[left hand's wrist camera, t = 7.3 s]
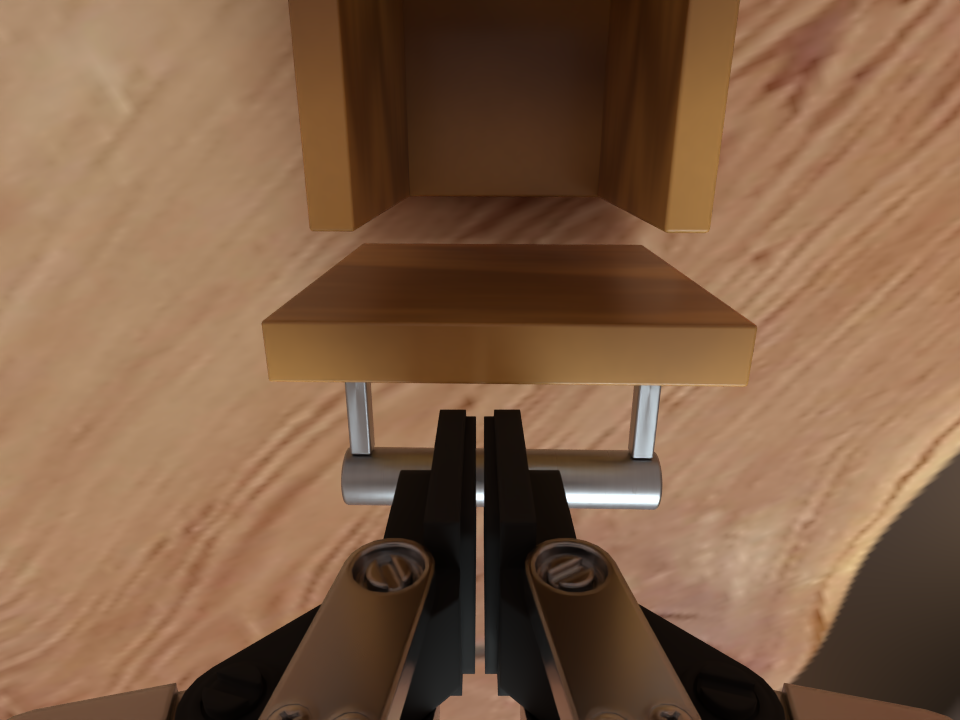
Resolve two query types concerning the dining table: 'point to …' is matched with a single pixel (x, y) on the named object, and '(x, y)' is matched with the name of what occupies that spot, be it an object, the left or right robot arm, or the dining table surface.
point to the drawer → (511, 173)
